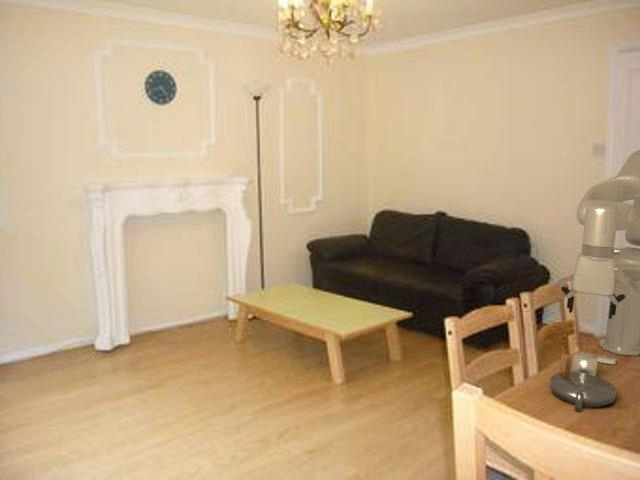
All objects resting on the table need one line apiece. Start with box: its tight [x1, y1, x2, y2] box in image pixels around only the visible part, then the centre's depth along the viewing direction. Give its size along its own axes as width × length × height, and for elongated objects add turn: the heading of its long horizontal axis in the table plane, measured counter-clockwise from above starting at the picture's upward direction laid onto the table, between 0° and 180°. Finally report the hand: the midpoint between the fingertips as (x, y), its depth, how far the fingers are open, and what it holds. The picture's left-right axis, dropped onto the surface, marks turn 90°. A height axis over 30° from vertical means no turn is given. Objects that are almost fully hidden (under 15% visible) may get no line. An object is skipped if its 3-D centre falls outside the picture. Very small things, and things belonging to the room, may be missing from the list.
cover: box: [571, 351, 599, 377], centre depth 158 cm, size 6×6×6 cm
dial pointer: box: [574, 390, 584, 413], centre depth 140 cm, size 3×2×4 cm, turn 152°
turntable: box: [549, 353, 617, 406], centre depth 146 cm, size 15×15×7 cm
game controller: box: [596, 355, 617, 370], centre depth 167 cm, size 6×12×3 cm, turn 172°
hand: (590, 314), depth 155 cm, fingers open, 9 cm apart
